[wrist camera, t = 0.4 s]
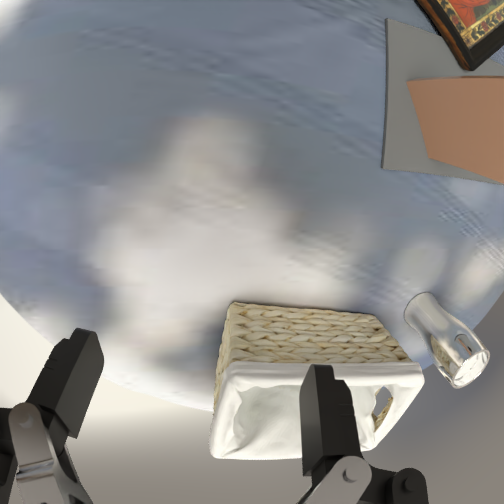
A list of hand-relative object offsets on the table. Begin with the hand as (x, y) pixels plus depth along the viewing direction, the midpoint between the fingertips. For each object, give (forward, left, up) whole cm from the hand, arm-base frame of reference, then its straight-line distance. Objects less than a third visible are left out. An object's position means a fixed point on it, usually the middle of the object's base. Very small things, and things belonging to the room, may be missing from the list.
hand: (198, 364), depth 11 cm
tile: (-11, +25, -25) cm, 37 cm away
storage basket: (+22, +11, -26) cm, 36 cm away
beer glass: (+18, +31, -26) cm, 44 cm away
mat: (-13, +32, -26) cm, 43 cm away
